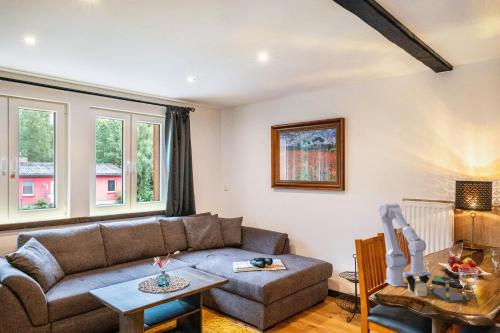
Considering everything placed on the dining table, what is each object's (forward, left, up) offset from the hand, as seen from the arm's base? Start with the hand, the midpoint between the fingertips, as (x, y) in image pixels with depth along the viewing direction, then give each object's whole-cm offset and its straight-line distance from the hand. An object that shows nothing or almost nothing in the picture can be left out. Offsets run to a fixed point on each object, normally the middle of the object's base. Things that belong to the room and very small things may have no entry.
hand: (417, 290), depth 173 cm
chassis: (+5, +13, -1) cm, 14 cm away
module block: (0, 0, -1) cm, 1 cm away
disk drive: (-10, +25, -2) cm, 27 cm away
